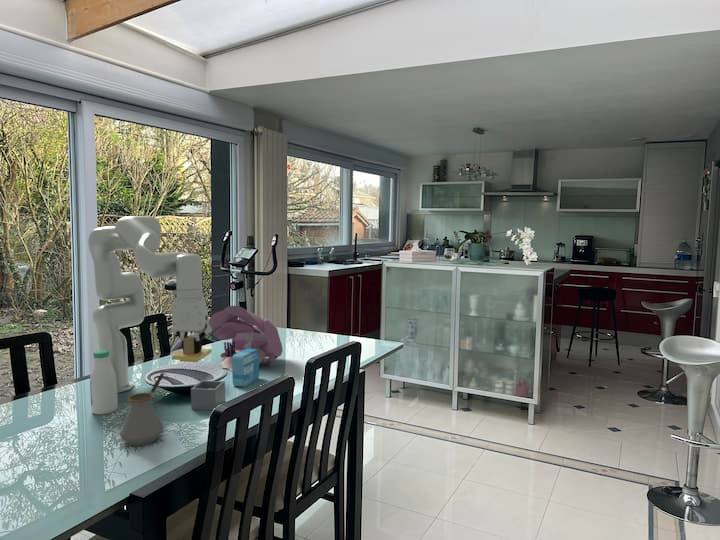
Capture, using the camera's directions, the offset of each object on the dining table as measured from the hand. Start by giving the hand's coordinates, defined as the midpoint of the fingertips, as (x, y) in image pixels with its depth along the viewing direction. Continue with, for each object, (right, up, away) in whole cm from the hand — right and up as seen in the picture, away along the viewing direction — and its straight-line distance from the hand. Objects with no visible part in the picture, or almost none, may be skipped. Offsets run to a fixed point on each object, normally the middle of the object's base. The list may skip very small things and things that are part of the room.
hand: (192, 351), depth 159 cm
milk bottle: (-32, -21, +9) cm, 39 cm away
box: (+1, -20, +13) cm, 24 cm away
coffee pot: (-10, -23, -8) cm, 26 cm away
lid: (0, -1, 0) cm, 1 cm away
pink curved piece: (+3, -15, +59) cm, 61 cm away
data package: (+9, -18, +36) cm, 41 cm away
